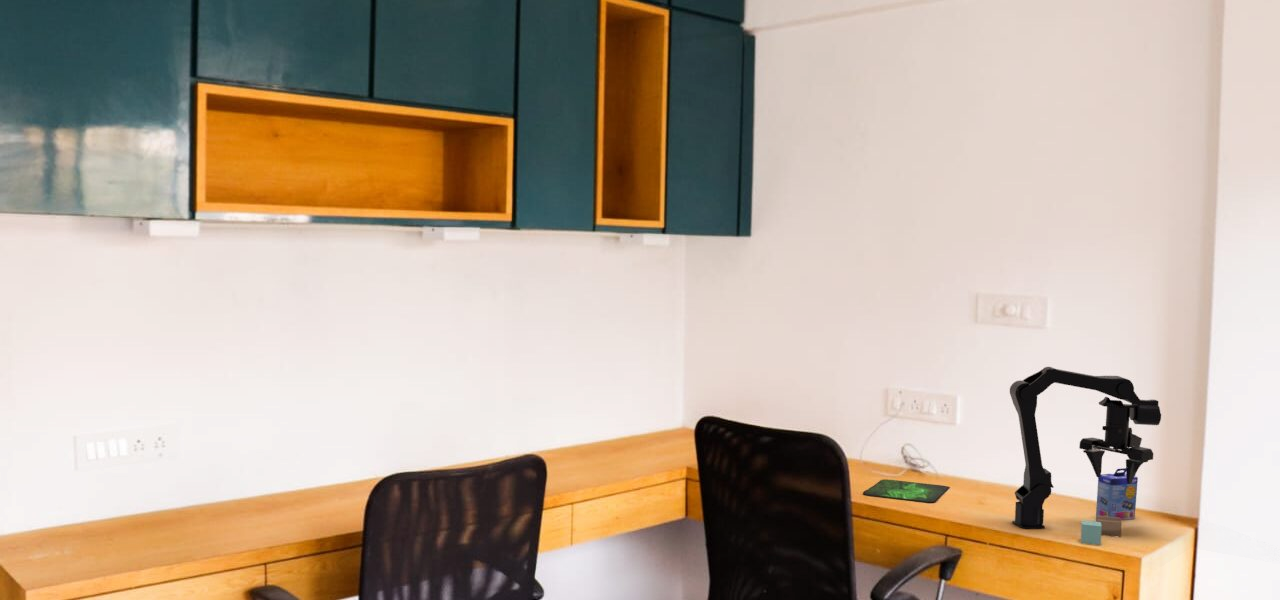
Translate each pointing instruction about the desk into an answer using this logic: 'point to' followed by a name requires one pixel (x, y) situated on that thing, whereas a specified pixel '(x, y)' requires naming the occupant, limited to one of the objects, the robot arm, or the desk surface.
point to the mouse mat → (907, 490)
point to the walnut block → (1109, 525)
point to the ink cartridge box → (1116, 495)
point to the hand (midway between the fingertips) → (1113, 480)
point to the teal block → (1091, 532)
